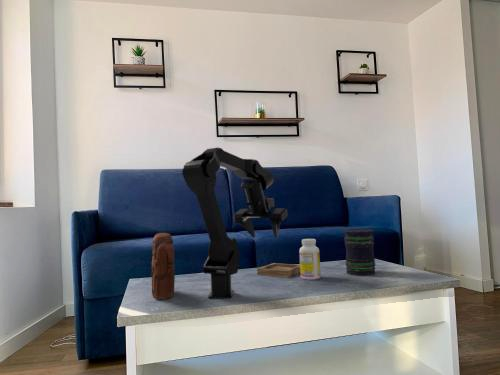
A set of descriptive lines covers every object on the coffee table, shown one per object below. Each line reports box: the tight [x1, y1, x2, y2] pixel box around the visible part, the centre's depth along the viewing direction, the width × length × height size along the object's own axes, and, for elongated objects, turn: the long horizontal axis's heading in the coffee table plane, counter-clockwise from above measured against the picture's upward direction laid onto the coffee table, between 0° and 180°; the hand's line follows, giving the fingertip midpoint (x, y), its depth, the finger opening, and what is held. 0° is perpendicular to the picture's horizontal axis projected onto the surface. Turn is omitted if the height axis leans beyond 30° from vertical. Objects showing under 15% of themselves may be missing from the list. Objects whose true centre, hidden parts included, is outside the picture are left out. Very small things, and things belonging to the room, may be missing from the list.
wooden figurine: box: [151, 232, 176, 300], centre depth 101 cm, size 12×6×18 cm, turn 19°
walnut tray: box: [256, 262, 300, 279], centre depth 125 cm, size 12×12×2 cm
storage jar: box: [344, 228, 376, 277], centre depth 120 cm, size 10×10×15 cm
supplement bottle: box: [298, 238, 322, 281], centre depth 116 cm, size 7×7×13 cm
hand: (265, 237), depth 120 cm, fingers open, 9 cm apart
